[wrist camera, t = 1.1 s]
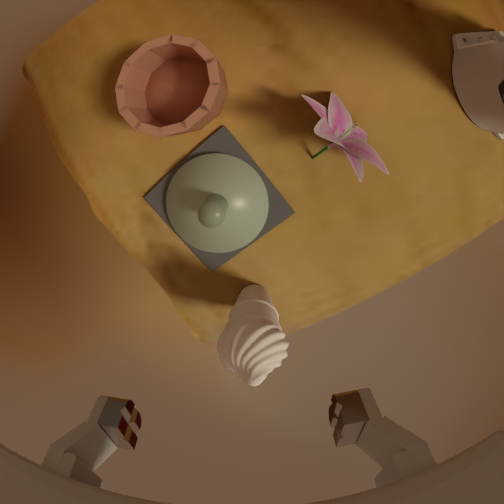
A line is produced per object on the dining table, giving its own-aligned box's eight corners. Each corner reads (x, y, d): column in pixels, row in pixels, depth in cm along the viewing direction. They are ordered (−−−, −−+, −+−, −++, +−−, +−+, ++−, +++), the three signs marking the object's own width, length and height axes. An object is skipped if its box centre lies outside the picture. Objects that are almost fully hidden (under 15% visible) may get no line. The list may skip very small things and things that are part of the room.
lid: (223, 131, 31) (217, 132, 27) (289, 211, 35) (293, 224, 31) (148, 198, 35) (134, 209, 30) (212, 267, 39) (207, 285, 35)
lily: (371, 181, 34) (420, 162, 25) (301, 212, 32) (344, 196, 23) (332, 104, 34) (370, 69, 24) (258, 123, 31) (284, 80, 22)
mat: (224, 125, 31) (223, 125, 31) (294, 211, 36) (294, 212, 35) (145, 197, 35) (143, 197, 35) (212, 270, 40) (212, 271, 39)
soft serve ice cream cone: (222, 274, 40) (204, 356, 25) (280, 268, 39) (291, 351, 25) (231, 319, 43) (220, 403, 29) (284, 315, 43) (293, 399, 28)
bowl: (190, 35, 26) (174, 17, 19) (245, 94, 29) (242, 85, 23) (126, 93, 29) (98, 89, 23) (176, 151, 32) (158, 157, 26)
